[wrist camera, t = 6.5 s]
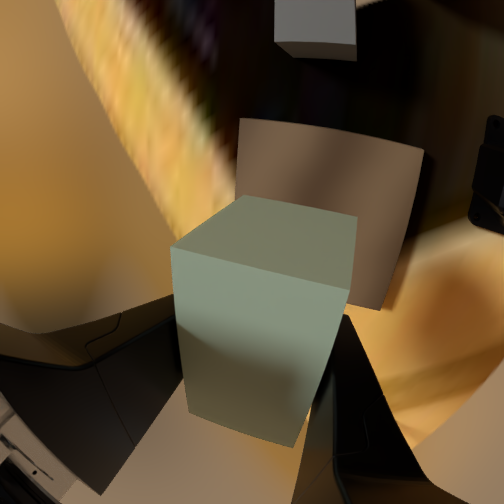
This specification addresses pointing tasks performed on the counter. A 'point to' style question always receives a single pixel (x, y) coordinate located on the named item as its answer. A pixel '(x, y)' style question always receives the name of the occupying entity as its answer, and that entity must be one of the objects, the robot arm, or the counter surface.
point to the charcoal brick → (317, 28)
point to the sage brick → (260, 311)
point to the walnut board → (337, 188)
